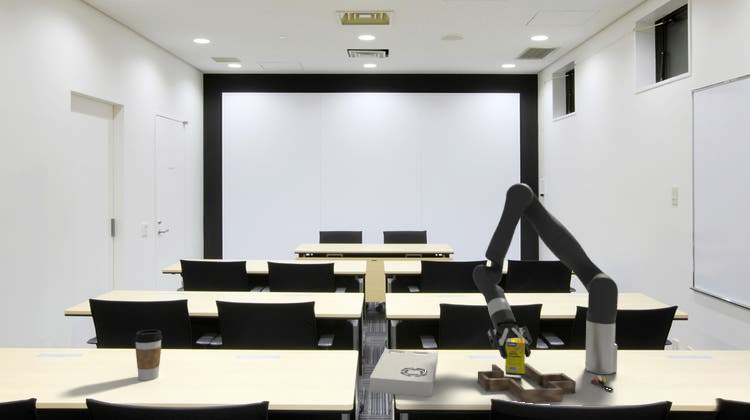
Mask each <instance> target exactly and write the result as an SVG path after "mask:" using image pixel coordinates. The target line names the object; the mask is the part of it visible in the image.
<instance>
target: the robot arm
mask: <svg viewBox="0 0 750 420" xmlns="http://www.w3.org/2000/svg"><path fill="white" fill-rule="evenodd" d="M522 216H523V217H525V219H527V221H528V222H529V223H530V224H531V226H532V228H533V229H534V230H535V232H536V234H537V236H538V237H539V238H540V239H541V241H542V242H543V244H544V245H545V247H547V249H548V250H549V251H550V252H551V253H552V254H553V255H554V256H555V257H556V258H557V259H558V260H559V261H560V262H561V263H562V264H563V265H565V266H566V267H567V268H568V269H570V271H572V272H573V274H574V275H575V276H576V277H577V278H578V280H579V281H580V282H581V284H582V285H583V287H584V288H585V290H586V292H587V293H588V296H587V297H588V301H587V311H586V328H585V330H586V331H585V334H586V335H585V366H584V369H585V370H586V371H588V372H590V373H592V374H599V375H612V373H613V374H614V372H616V373H617V372H618V371H617V370H618V344H617V343H616V320H617V319H616V318H617V314H618V301H619V290H618V285H617V283H616V282H615V280H614V279H613V278H612V277H611V276H609V275H608V274H606V273H605V272H604V271H603V270H602V269H600V268H599V267H598V266H597V265H596V264H595V263H594V262H593V261H592V260H591V259H590V257H589V256H588V254H587V253H586V251H585V250H584V248H583V246H581V243H580V242H579V241H578V240H577V238H576V237H575V236H574V235H573V234H572V233H571V231H569V229H567V227H565V226H564V224H563V223H562V222H561V221H560V220H559V219H558V218H556V217H555V216H554V215H553V214H552V213H551V212H549V210H548V209H547V208H546V207H545V206H544V205H543V204H542V202H541V201H540V199H539V198H538V197H537V196H536V194H535V192H534V191H533V189H532V188H531V187H530V185H528V184H527V183H522V182H519V183H514V184H512V185H511V186H510V187H509V188H508V189H507V191H506V194H505V201H504V205H503V210H502V213H501V216H500V219H499V222H498V224H497V226H496V228H495V230H494V232H493V235H492V237H491V239H490V241H489V244H488V246H487V248H486V251H485V253H484V255H485V256H484V257H485V258H486V259H487V260H488V261H490V266H489V265H484V264H478V265H476V266H474V268H473V271H472V279H473V282H474V284H475V286H476V287H477V288H478V291H479V292H480V293H481V294H482V296H483V298H484V301H485V304H486V305H487V308H488V309H487V310H488V314H489V317H490V319H491V322H492V324H493V328H494V329H493V328H489V330H488V331H487V336H488V340H489V342H490V345H491V348H494V349H495V348H496V349H498V352H499V354H500V356H501V358H502V359H503V360H506V358H507V356H508V355H507V353H506V346H505V345H504V343H505V342H506V339H507V338H524V341H525V357H526V358H529V357H530V356H531V354H532V351H531V349H530V345H531V344H532V342H533V338H532V336H531V334H530V332H529V329H528V327H527V326H525V325H524V326H523V327H518V325H517V321H516V318H515V316H514V313H513V311H512V309H511V306H510V303H509V302H508V300H507V298H506V295H505V292H504V289H503V288H502V287H501V286H499V283H500V282H501V280H502V278H503V270H504V264H505V263H504V262H505V258H506V256H507V254H508V251H509V249H510V246H511V244H512V240H513V238H514V235H515V233H516V228H517V226H518V224H519V222H520V220H521V218H522ZM496 335H497V336H498V337H499V340H498V341H497V337H496Z"/></svg>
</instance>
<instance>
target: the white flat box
mask: <svg viewBox="0 0 750 420" xmlns="http://www.w3.org/2000/svg"><path fill="white" fill-rule="evenodd" d="M438 352H439V351H438V350H436V352H433V351H418V350H417V351H416V350H404V349H403V350H402V349H401V350H400V349H388V348H387V347H385V348H384V350H383V352H382V354H381V356H380V358H379V360H378V362H377V363H376V365H375V367H374V369H373V371H372V372H371V374H370V376H369V392H370V393H377V394H378V393H379V394H389V395H390V394H393V395H404V396H417V397H430V398H431V397H432V396H433V391H434V385H435V380H436V379H435V378H436V373H437V369H438V368H437V367H438V357H439V356H438V355H439V353H438ZM425 370H426V372H425Z"/></svg>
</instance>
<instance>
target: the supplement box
mask: <svg viewBox="0 0 750 420" xmlns="http://www.w3.org/2000/svg"><path fill="white" fill-rule="evenodd" d="M505 350H506V353H507V355H508V356H507V358H506V359H504V361H505V363H504V364H505V367H504V368H505V371H504V372H505V375H508V376H520V377H525V375H524V374H525V363H526V361H525V360H526V358H525V357H526V356H525V341H524V337H523V338H519V337H517V338H507V339H506V341H505Z"/></svg>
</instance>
